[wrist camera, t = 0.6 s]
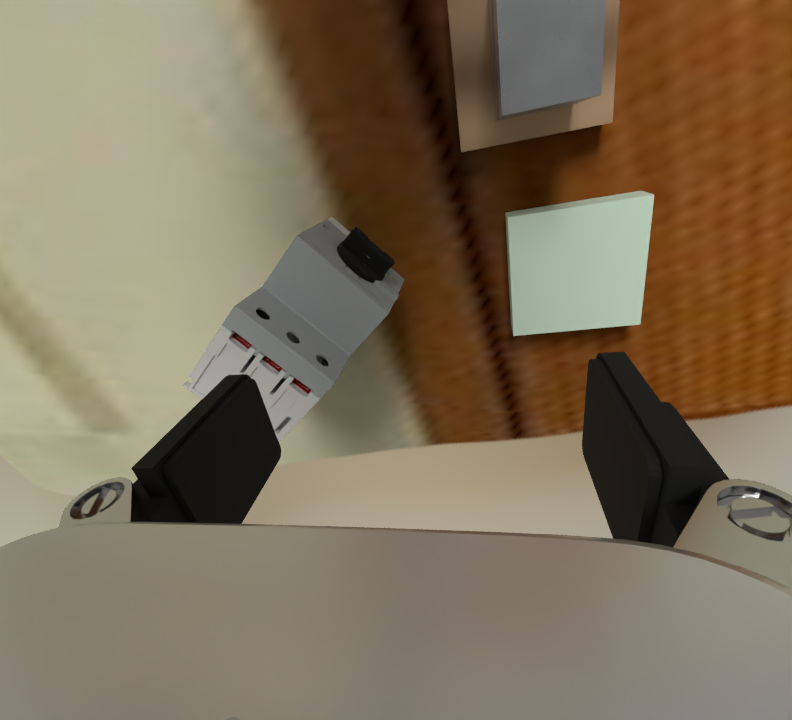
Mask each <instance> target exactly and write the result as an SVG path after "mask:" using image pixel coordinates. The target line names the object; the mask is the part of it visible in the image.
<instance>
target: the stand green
mask: <svg viewBox="0 0 792 720" xmlns="http://www.w3.org/2000/svg"><path fill="white" fill-rule="evenodd" d="M653 202H654V194H651V193H647V192H644V191H636V192H630V193H624V194H618V195H611V196H605V197H599V198H593V199H586V200H580V201H574V202H567V203H561V204H555V205H549V206H542V207H536V208H530V209H523V210H517V211H511V212H505V220H506V239H507V258H508V278H509V297H510V316H511V327H512V332H513V336H519V335H530V334H541V333H552V332H563V331H574V330H585V329H596V328H607V327H618V326H629V325H640V323H641V313H642V304H643V295H644V286H645V276H646V267H647V258H648V249H649V239H650V230H651V221H652V212H653Z"/></svg>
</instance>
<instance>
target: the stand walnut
mask: <svg viewBox="0 0 792 720" xmlns="http://www.w3.org/2000/svg"><path fill="white" fill-rule="evenodd" d="M447 6H448V17H449V27H450V38H451V49H452V60H453V70H454V81H455V92H456V103H457V113H458V124H459V135H460V145H461V152H466V151H471V150H476V149H481V148H486V147H491V146H496V145H501V144H506V143H512V142H517V141H522V140H527V139H532V138H537V137H542V136H547V135H552V134H557V133H562V132H567V131H572V130H578V129H583V128H588V127H593V126H598V125H603V124H608V123H613V107H614V90H615V73H616V56H617V39H618V22H619V6H620V0H606V4H605V26H604V47H603V69H602V90H601V95H599V96H596V97H593V98H591V99H588V100H583V101H582V102H579V103H577V104H574V105H570V106H565V107H560V108H555V109H551V110H546V111H541V112H536V113H532V114H527V115H522V116H517V117H513V118H508V119H503V120H498V121H495V106H494V88H493V71H492V53H491V35H490V18H489V0H447Z"/></svg>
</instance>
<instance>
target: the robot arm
mask: <svg viewBox="0 0 792 720" xmlns="http://www.w3.org/2000/svg"><path fill="white" fill-rule="evenodd" d="M582 449H583V455H584V458H585V461H586V464H587V467H588V469H589V472H590V475H591V478H592V480H593V483H594V486H595V489H596V492H597V494H598V497H599V500H600V502H601V505H602V508H603V511H604V514H605V516H606V519H607V522H608V525H609V528H610V530H611V533H612V536H613V539H610V538H596V537H581V536H567V535H551V534H550V535H549V534H524V533H523V534H522V533H503V532H476V531H449V530H448V531H447V530H422V529H420V530H419V529H395V528H394V529H393V528H364V527H331V526H298V525H264V524H263V525H262V524H241V523H242V522H243V520H244V518H245V517H246V515H247V513H248V511H249V510H250V508H251V507H252V505H253V503H254V501H255V500H256V498H257V496H258V495H259V493H260V491H261V489H262V488H263V486H264V485H265V483H266V481H267V480H268V478H269V476H270V474H271V473H272V471H273V469H274V468H275V466H276V464H277V463H278V461H279V459H280V456H281V448H280V445H279V442H278V439H277V437H276V434H275V431H274V429H273V426H272V423H271V420H270V418H269V415H268V412H267V410H266V407H265V404H264V402H263V399H262V396H261V394H260V391H259V388H258V386H257V383H256V381H255V380H254V379H251V377H250V376H249V375H247V374H240V375H227V376H226V377H225V378H224V379H223V380H222V381H221V382H220V383H218V384H217V385H216V386H215V387H214V388H213V389H212V390H211V391H210V392H209V393H208V394H207V395H206V396H205V397H204V398H203V399H202V400H201V401H200V402H199V403H198V404H197V405H196V406H195V407H194V408H193V409H192V410H191V411H190V412H189V413H188V414H187V415H186V416H185V417H184V418H183V419H182V420H180V421H179V422H178V423H177V424H176V425H175V426H174V427H173V428H172V429H171V430H170V431H169V432H168V433H167V434H166V435H165V436H164V437H163V438H162V439H161V440H160V441H159V442H158V443H157V444H156V445H155V446H154V447H153V448H152V449H151V450H150V451H149V452H148V453H147V454H146V455H145V456H144V457H142V458H141V459H140V460H139V461H138V462H137V463H136V464H135V465H134V466H133V467H132V470H133V471H134V473H135V475H136V476H137V478H138V480H137V481H136V482H135V483H134V484H132V482H131V480H129V479H127V478H122V477H118V478H112V479H108V480H105V481H102V482H100V483H98V484H96V485H94V486H92V487H90V488H88V489H87V490H85V491H84V492H82V493H81V494H79V495H78V496H77V497H76V498H75V499H73V500H72V501H71V502H70V503H69V505H68V506H67V507H66V508H65V510H64V512H63V514H62V517H61V521H60V525H59V527H58V528H56V529H51V530H47V531H44V532H40V533H37V534H34V535H30V536H27V537H24V538H21V539H19V540H17V541H14V542H11V543H9V544H6V545H4V546H2V547H0V720H792V496H791V495H789V494H787V493H785V492H783V491H781V490H779V489H776V488H774V487H772V486H769V485H765V484H762V483H759V482H755V481H748V480H741V479H734V480H729V478H728V477H727V476H726V474H725V473H724V472H723V470H722V469H721V468H720V466H718V464H717V463H716V461H715V460H714V459H713V458H712V456H711V455H710V454H709V452H708V451H707V450H706V448H705V447H704V446H703V444H702V443H701V442H700V440H699V439H698V438H697V436H696V435H695V434H694V432H693V431H692V430H691V429H690V427H689V426H688V425H687V423H686V422H685V421H684V419H683V418H682V417H681V415H680V414H679V413H678V411H677V410H676V409H675V408H674V406H672V405H671V404H670V403H668V402H661V401H660V400H659V399H658V397H657V396H656V395H655V393H654V392H653V390H652V389H651V388H650V386H649V385H648V384H647V382H646V381H645V379H644V378H643V377H642V375H641V374H640V373H639V371H638V370H637V368H636V367H635V366H634V364H633V363H632V362H631V360H630V359H629V357H628V356H627V355H626V353H625V352H611V353H598V355H597V357H596V359H590V360H589V363H588V374H587V387H586V400H585V413H584V426H583V440H582Z"/></svg>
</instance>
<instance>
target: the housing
mask: <svg viewBox="0 0 792 720" xmlns="http://www.w3.org/2000/svg"><path fill="white" fill-rule="evenodd" d="M605 4H606V0H489V18H490V35H491V53H492V71H493V88H494V106H495V121H498V120H503V119H508V118H513V117H517V116H522V115H527V114H532V113H536V112H541V111H546V110H551V109H555V108H560V107H565V106H570V105H574V104H577V103H579V102H582V101H583V100H588V99H591V98H593V97H596V96H599V95H601V90H602V69H603V47H604V26H605Z"/></svg>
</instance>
